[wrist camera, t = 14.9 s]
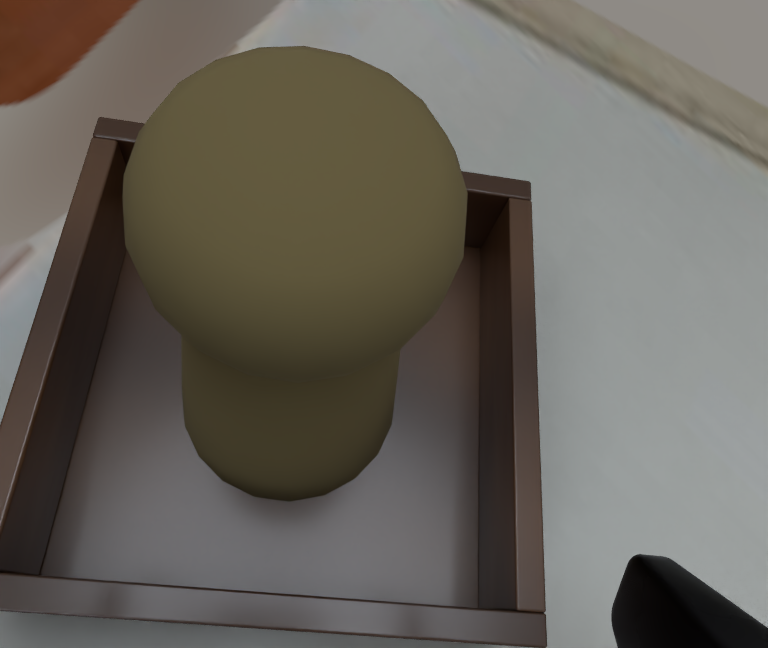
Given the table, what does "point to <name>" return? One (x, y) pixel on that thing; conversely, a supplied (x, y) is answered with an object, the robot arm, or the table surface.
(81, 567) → the tray
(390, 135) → the olive pawn figure
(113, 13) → the table surface
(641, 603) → the robot arm
